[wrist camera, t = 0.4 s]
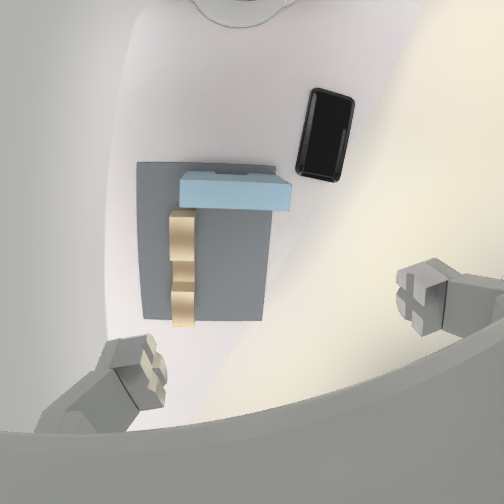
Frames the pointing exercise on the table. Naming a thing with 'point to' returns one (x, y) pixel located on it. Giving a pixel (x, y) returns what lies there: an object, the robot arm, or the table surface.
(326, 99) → the phone
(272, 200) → the blue plate
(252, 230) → the mat
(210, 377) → the table surface
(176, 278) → the beech rail
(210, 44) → the table surface
